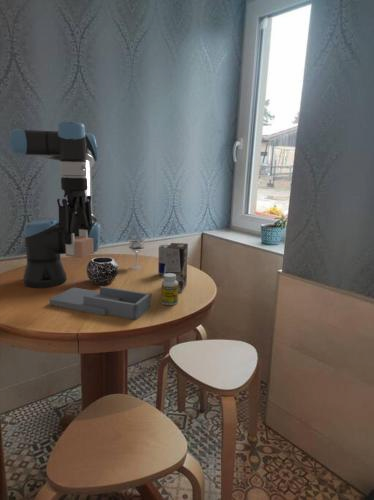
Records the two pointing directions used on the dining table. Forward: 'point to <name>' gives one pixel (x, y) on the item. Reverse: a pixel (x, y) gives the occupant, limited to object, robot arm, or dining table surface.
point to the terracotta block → (83, 247)
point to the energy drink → (162, 260)
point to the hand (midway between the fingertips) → (77, 251)
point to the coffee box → (177, 263)
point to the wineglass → (136, 249)
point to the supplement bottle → (169, 289)
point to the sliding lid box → (105, 301)
